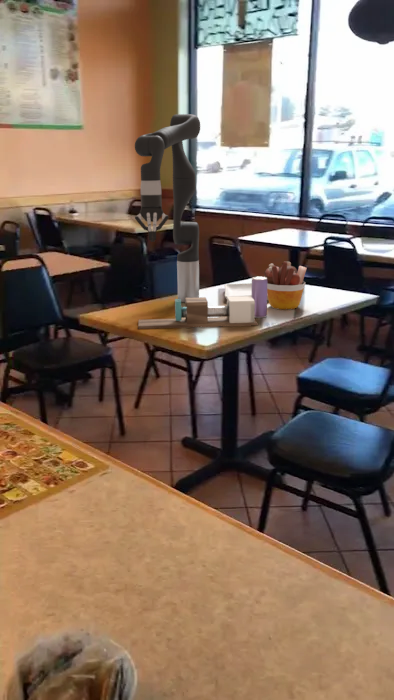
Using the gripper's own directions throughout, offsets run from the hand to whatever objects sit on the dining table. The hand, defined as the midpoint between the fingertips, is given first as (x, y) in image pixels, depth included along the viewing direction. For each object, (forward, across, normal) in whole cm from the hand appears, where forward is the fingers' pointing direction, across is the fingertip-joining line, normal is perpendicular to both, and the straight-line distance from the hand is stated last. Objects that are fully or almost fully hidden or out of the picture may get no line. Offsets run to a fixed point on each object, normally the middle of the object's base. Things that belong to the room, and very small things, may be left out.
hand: (152, 241), depth 236 cm
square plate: (+30, -45, -35) cm, 64 cm away
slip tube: (+27, -20, +12) cm, 36 cm away
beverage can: (+29, -40, +3) cm, 50 cm away
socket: (+29, -32, +12) cm, 44 cm away
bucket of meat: (+29, -53, -12) cm, 62 cm away
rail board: (+29, -16, +12) cm, 35 cm away
